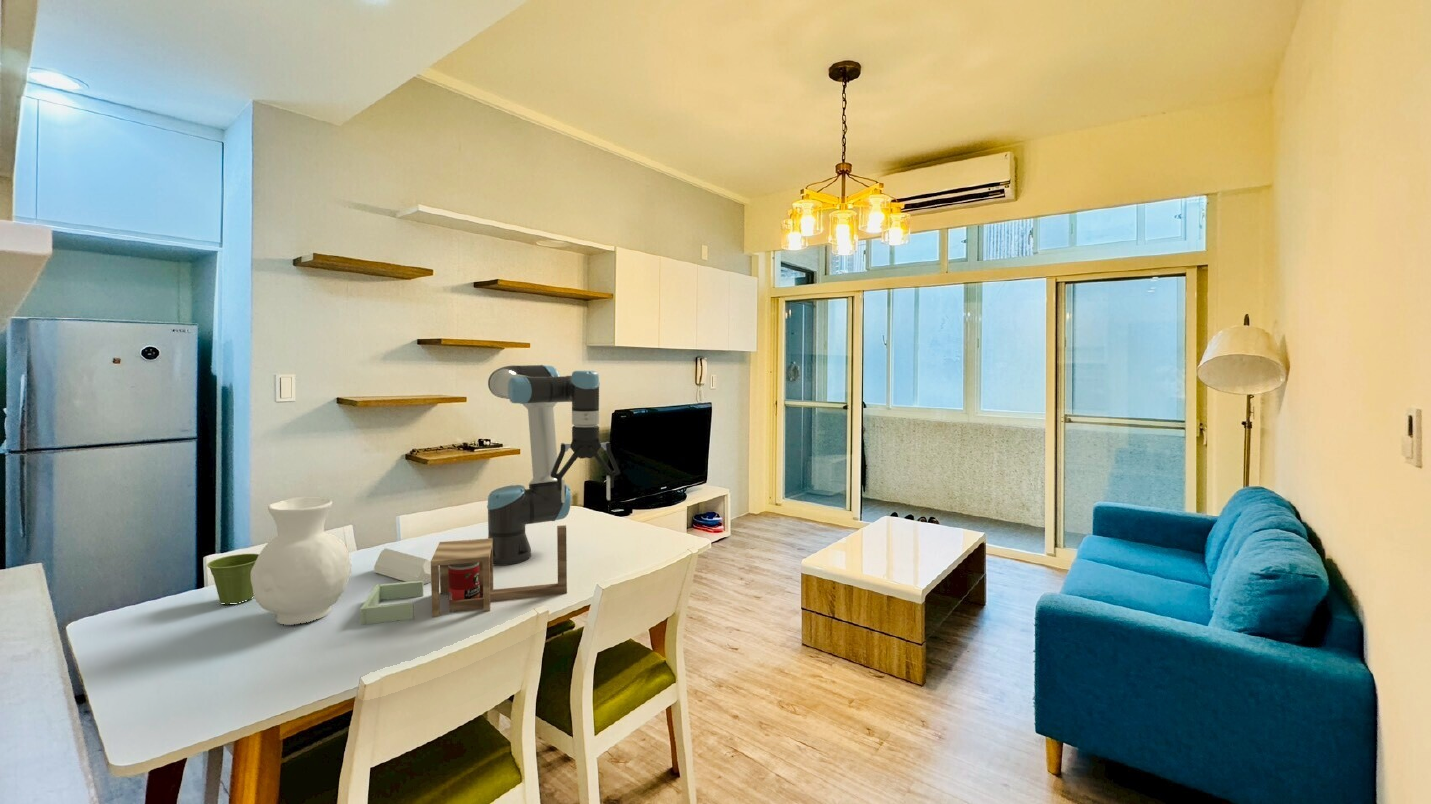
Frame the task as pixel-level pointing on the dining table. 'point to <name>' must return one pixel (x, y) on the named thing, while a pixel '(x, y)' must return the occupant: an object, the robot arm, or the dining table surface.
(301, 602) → the vase
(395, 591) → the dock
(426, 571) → the white faceted bar
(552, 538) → the dining table surface
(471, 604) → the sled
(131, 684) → the dining table surface
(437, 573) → the stool
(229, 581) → the plant pot
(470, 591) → the canned food
